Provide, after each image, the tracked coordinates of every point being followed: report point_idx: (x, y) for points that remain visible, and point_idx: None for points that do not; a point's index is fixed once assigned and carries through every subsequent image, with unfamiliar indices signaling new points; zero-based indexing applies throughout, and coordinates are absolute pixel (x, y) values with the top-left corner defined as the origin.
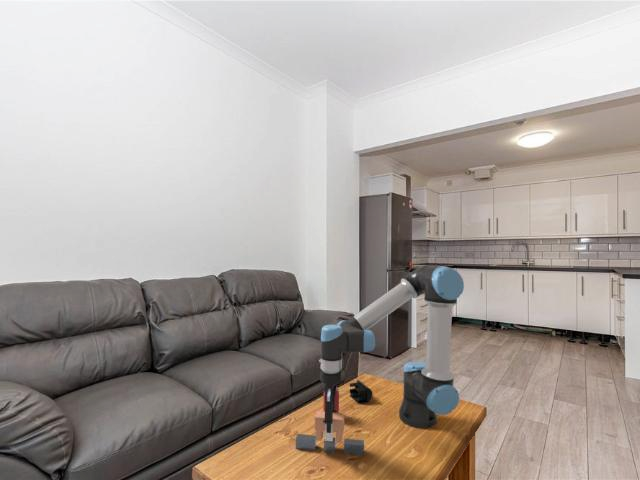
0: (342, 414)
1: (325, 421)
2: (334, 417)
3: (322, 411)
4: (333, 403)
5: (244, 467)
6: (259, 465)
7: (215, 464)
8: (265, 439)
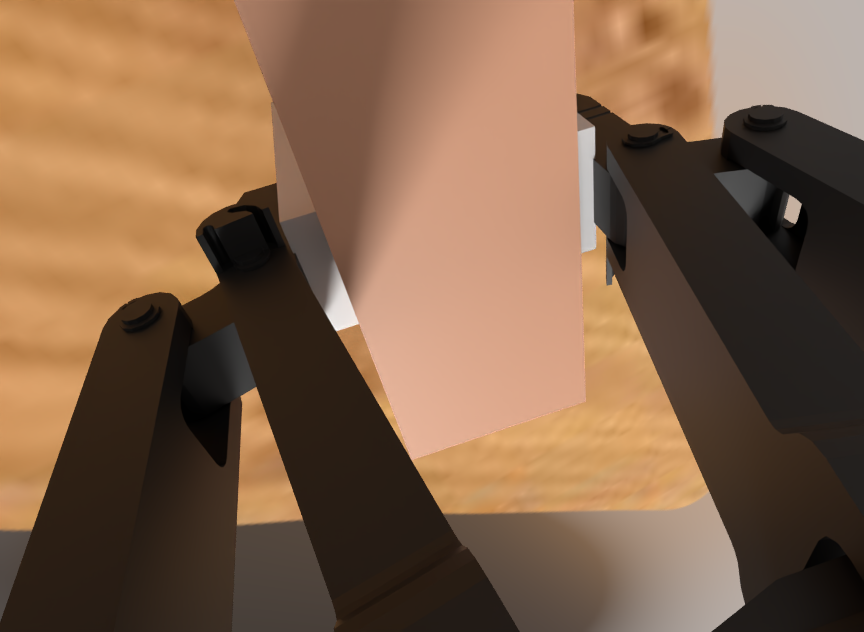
0: (313, 27)
1: (785, 228)
2: (522, 155)
3: (393, 403)
4: (364, 390)
5: (675, 415)
6: (654, 378)
7: (666, 493)
8: (440, 476)
